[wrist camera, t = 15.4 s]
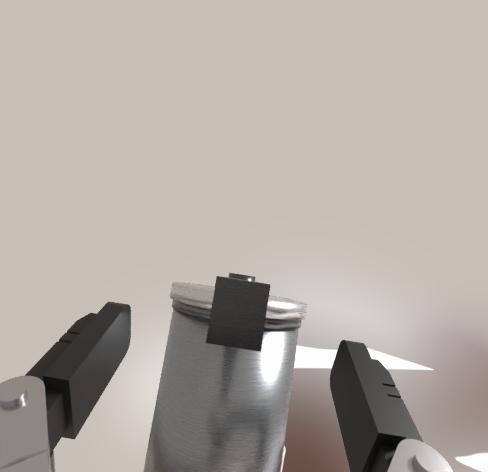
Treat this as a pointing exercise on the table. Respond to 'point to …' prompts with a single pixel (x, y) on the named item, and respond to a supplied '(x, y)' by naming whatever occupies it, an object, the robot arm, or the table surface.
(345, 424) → the robot arm
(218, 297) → the lid
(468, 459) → the table surface
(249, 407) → the canister
